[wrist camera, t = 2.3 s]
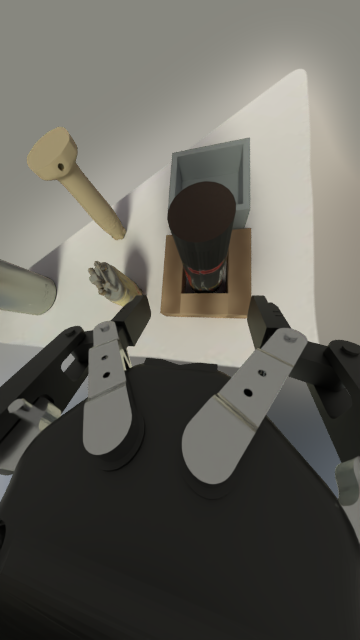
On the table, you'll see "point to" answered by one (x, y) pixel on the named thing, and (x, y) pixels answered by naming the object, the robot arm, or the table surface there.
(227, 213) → the deodorant
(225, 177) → the bin
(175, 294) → the holder
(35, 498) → the robot arm
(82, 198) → the handle
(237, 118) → the table surface
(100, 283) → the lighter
